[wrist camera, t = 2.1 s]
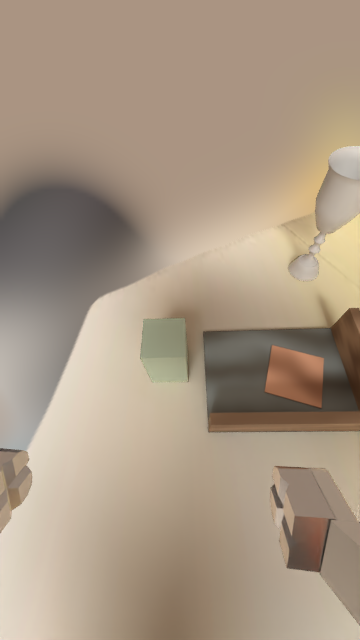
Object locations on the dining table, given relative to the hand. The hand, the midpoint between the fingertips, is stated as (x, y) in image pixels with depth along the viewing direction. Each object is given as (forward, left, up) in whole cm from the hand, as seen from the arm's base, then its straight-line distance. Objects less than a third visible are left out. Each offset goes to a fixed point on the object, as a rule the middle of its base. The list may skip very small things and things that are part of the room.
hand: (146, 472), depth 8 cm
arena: (+11, -13, -25) cm, 31 cm away
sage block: (+13, +2, -25) cm, 28 cm away
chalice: (+30, -21, -25) cm, 45 cm away
